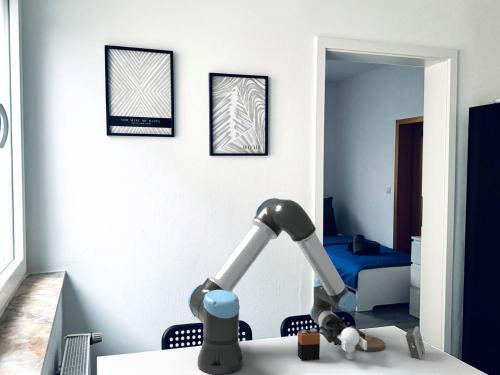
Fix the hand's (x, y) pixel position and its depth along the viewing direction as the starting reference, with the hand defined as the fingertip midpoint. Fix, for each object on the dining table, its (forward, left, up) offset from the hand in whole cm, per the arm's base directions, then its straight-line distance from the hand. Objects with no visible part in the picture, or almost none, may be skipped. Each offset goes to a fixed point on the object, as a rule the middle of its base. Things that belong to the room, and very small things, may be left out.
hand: (356, 346), depth 142 cm
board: (-11, +18, -6) cm, 22 cm away
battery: (-14, -9, -7) cm, 17 cm away
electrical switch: (+6, +25, -7) cm, 27 cm away
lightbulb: (-5, +2, -7) cm, 8 cm away
